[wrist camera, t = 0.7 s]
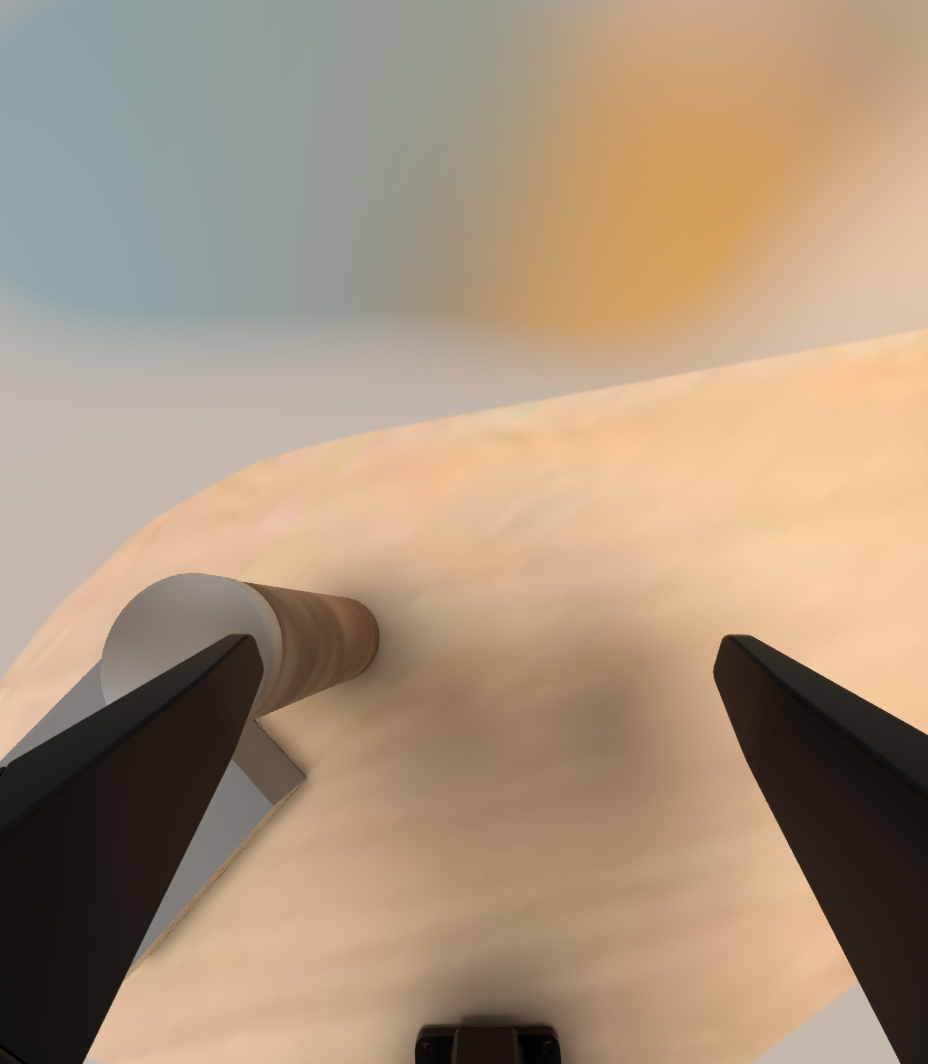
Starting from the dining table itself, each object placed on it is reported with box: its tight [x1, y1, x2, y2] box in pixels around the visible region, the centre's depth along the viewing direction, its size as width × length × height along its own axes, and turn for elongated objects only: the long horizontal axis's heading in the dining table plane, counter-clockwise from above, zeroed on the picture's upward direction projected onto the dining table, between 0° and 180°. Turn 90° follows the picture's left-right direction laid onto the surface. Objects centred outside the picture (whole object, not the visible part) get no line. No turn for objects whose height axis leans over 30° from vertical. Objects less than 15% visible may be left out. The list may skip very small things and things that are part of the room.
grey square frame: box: [0, 660, 306, 983], centre depth 21 cm, size 11×11×4 cm
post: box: [100, 573, 379, 723], centre depth 18 cm, size 5×5×12 cm
